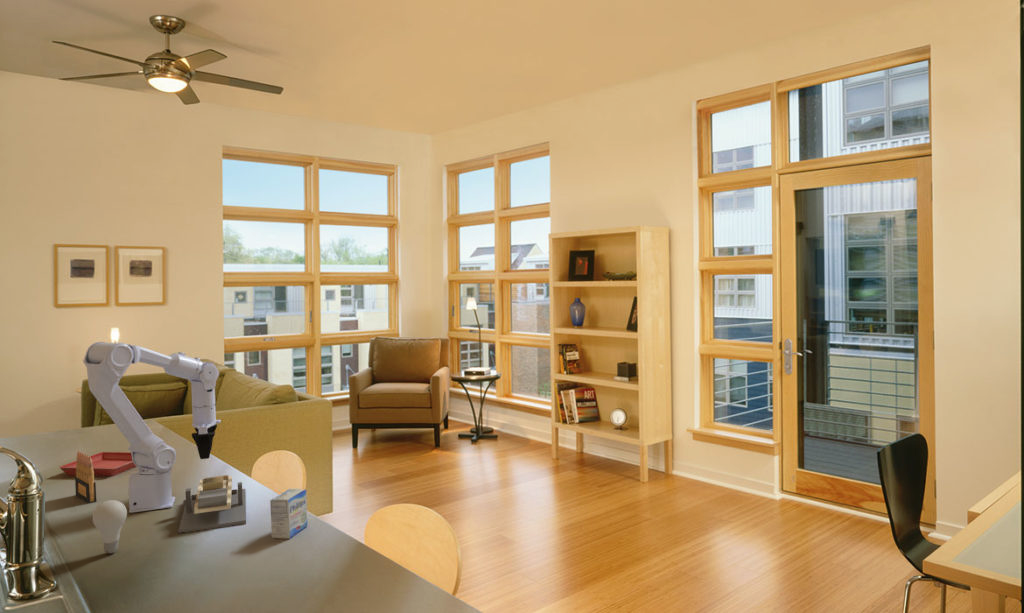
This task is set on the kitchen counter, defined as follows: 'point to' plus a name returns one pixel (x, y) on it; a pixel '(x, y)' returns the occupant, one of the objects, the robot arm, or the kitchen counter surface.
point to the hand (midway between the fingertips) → (205, 455)
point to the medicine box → (288, 513)
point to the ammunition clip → (85, 478)
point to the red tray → (105, 464)
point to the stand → (214, 513)
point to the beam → (214, 497)
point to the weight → (213, 483)
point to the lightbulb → (110, 523)
